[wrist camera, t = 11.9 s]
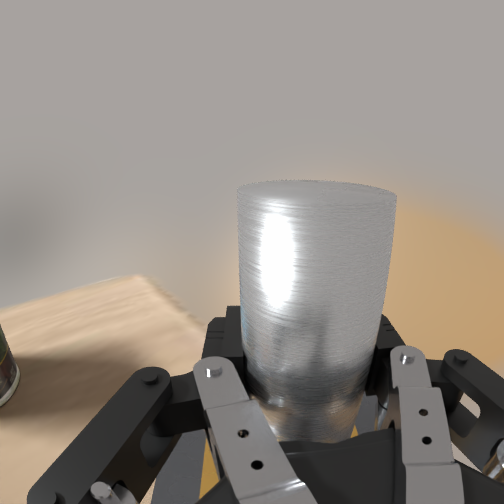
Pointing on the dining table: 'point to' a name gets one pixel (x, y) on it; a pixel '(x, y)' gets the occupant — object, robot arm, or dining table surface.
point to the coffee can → (7, 371)
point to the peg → (311, 300)
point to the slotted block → (202, 465)
